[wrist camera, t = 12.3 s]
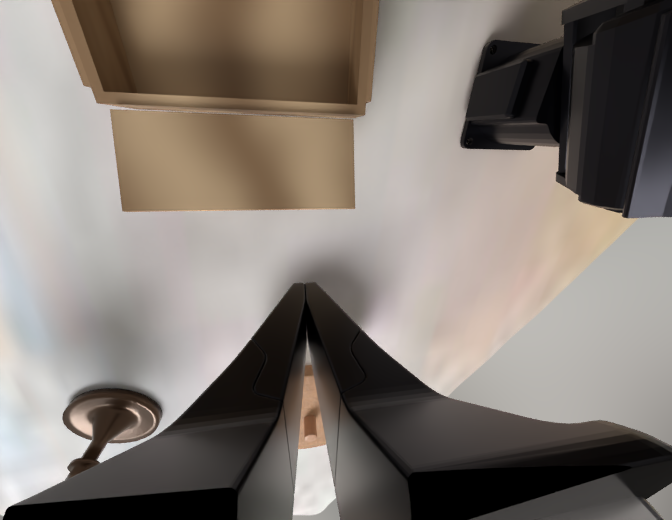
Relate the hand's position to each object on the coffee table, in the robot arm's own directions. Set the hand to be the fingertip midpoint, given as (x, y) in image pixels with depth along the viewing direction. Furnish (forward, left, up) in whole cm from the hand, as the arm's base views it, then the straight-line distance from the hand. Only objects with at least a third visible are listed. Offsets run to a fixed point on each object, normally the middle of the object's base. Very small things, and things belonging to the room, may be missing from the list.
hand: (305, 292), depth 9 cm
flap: (+3, -4, -7) cm, 9 cm away
